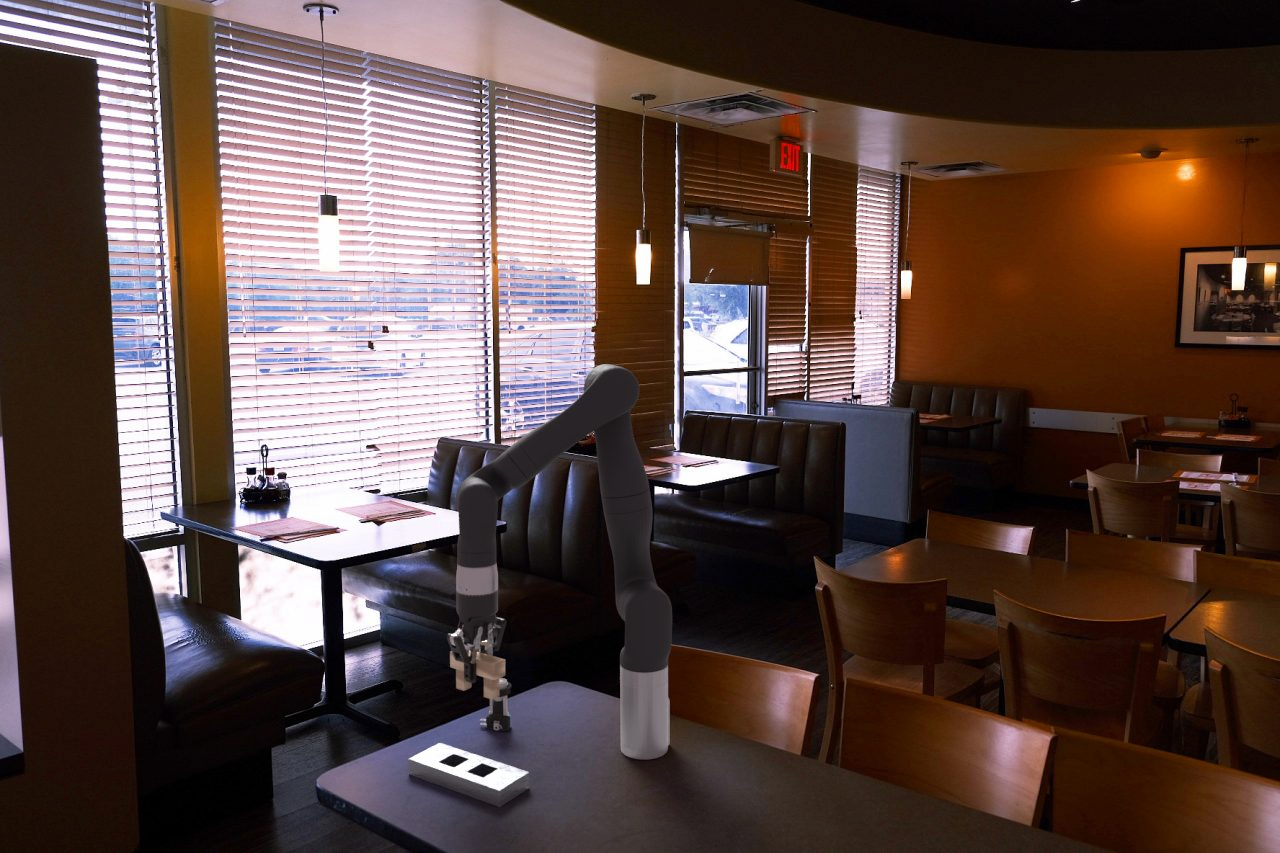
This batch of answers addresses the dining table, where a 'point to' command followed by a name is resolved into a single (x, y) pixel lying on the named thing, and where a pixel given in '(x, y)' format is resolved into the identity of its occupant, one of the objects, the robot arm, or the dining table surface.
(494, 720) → the push button
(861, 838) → the dining table surface
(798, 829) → the dining table surface
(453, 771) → the grey block with holes
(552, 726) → the dining table surface
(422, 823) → the dining table surface
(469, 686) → the wooden peg block
